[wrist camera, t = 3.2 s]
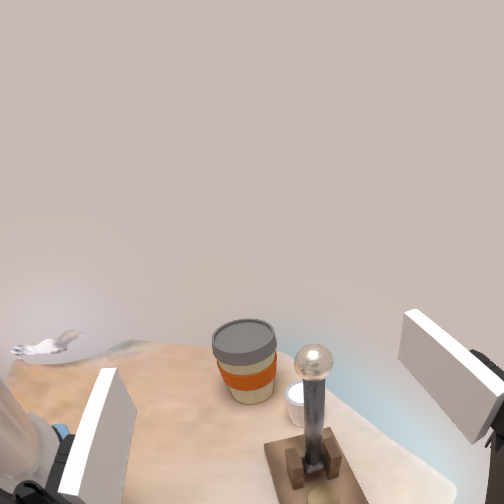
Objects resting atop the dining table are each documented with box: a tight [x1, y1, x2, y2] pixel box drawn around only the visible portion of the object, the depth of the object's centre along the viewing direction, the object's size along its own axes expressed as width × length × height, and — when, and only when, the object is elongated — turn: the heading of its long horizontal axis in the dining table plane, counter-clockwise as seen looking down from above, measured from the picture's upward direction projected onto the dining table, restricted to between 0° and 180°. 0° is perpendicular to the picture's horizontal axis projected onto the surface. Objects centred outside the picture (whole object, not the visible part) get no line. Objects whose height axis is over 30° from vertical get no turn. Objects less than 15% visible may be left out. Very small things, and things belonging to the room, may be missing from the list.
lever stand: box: [264, 427, 369, 504], centre depth 36 cm, size 12×18×9 cm, turn 10°
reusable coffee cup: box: [212, 319, 277, 404], centre depth 59 cm, size 13×13×15 cm
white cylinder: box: [285, 380, 304, 427], centre depth 51 cm, size 7×7×7 cm
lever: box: [294, 344, 333, 475], centre depth 33 cm, size 4×4×24 cm
